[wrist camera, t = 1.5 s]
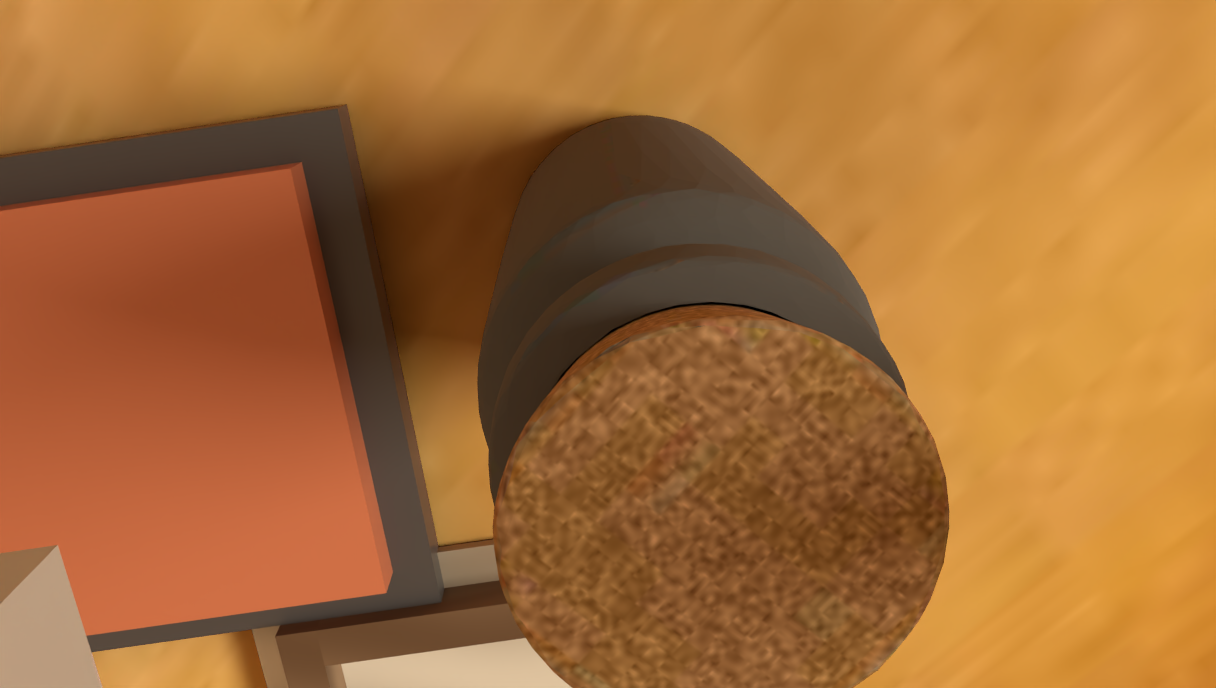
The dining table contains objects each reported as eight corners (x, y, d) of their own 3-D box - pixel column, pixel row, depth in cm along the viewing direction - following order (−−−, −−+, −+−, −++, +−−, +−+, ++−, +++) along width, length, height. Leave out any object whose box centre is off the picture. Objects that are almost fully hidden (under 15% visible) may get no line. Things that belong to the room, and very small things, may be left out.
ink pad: (-185, 182, 25) (-250, 197, 23) (346, 104, 24) (327, 112, 23) (-20, 648, 28) (-63, 695, 26) (445, 582, 28) (436, 624, 26)
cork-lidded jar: (595, 404, 27) (624, 866, 12) (463, 198, 25) (320, 454, 11) (808, 282, 26) (1099, 622, 12) (685, 62, 24) (848, 142, 10)
